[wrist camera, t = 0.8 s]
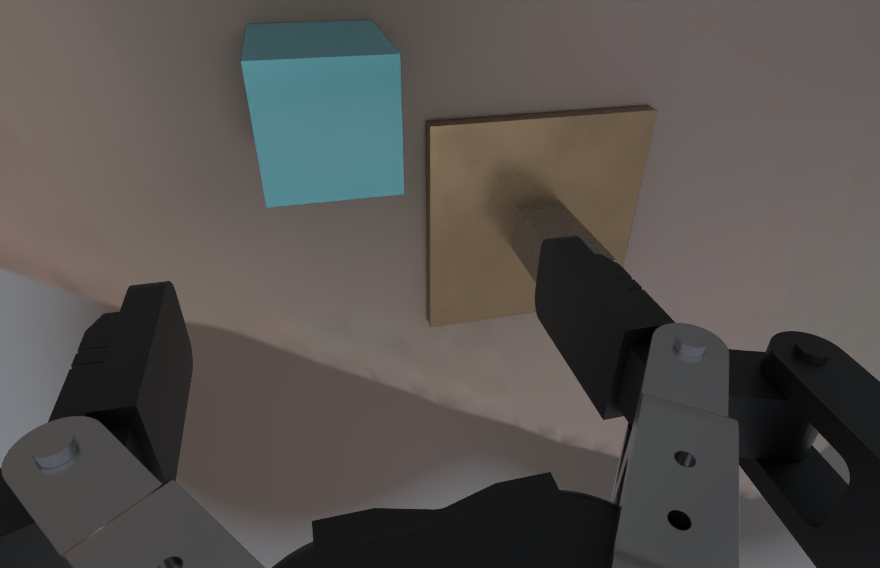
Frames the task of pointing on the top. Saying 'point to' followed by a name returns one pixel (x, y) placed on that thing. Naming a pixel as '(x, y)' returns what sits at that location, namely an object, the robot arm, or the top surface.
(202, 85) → the top surface
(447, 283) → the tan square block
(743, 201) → the top surface
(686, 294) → the top surface
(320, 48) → the turquoise rectangular block
